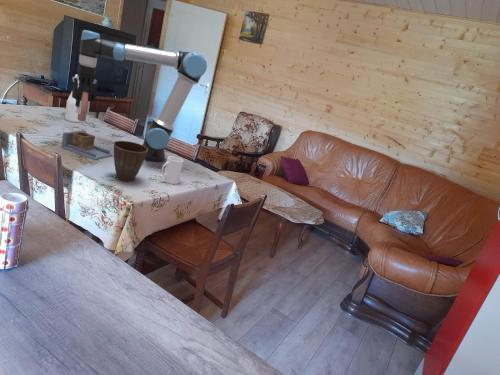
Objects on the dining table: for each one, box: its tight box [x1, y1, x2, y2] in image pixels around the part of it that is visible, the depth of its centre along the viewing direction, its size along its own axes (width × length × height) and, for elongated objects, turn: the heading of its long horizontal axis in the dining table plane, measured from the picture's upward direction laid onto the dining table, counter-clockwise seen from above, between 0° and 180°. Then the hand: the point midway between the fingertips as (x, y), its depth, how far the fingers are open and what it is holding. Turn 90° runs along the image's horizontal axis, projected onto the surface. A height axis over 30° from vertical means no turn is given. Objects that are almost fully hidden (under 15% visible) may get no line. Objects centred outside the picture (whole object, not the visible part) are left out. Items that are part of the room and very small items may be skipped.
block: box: [70, 131, 96, 150], centre depth 182 cm, size 8×8×7 cm
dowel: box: [78, 91, 89, 122], centre depth 172 cm, size 4×4×14 cm
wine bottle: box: [64, 73, 81, 123], centre depth 226 cm, size 10×10×30 cm
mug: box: [161, 155, 185, 185], centre depth 174 cm, size 12×8×12 cm
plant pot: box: [113, 140, 148, 182], centre depth 161 cm, size 15×15×16 cm
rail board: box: [61, 130, 114, 161], centre depth 181 cm, size 20×14×8 cm
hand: (82, 113), depth 173 cm, fingers closed on dowel, 3 cm apart
